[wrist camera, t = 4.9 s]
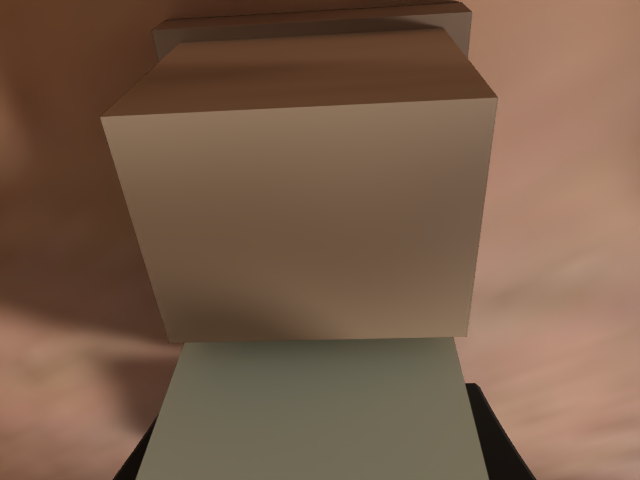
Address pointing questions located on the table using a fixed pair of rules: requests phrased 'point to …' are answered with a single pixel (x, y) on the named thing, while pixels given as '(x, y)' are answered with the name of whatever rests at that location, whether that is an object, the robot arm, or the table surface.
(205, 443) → the sage block
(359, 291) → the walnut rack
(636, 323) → the table surface
